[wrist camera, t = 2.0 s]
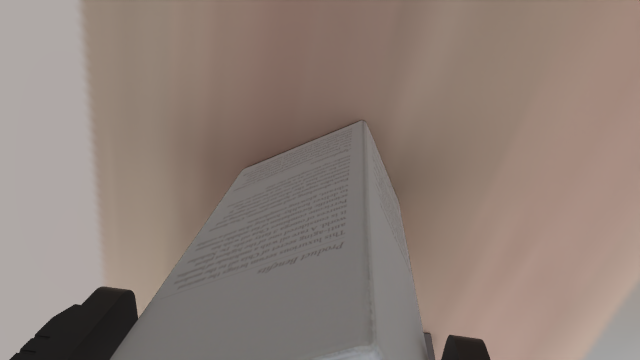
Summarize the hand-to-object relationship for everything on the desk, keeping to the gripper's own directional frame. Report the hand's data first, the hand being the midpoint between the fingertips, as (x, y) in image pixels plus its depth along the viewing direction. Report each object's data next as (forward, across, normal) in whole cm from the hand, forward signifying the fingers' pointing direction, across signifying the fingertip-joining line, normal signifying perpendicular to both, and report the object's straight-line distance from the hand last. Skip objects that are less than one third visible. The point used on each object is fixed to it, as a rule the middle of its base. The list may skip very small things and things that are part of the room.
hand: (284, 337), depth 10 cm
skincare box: (+9, 0, 0) cm, 9 cm away
